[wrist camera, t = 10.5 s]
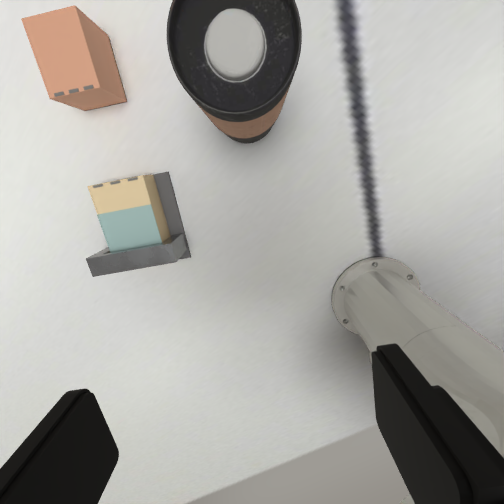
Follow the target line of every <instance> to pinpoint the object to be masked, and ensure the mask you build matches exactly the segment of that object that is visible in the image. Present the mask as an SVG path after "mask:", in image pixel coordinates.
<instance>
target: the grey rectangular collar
mask: <svg viewBox="0 0 504 504" xmlns="http://www.w3.org/2000/svg"><path fill="white" fill-rule="evenodd" d="M186 250H187V245H186V241H185V237H184V234H183V233H179V234H173V235H171V236H170V237H169V238H167V239H166V240H165V241H163V242H162V243H161V244H154V245H149V246H143V247H138V248H132V249H127V250H121V251H116V252H112V253H110V250H109V247H108V248H106V249H104V250H102V251H100V252H98V253H96V254H94V255H92V256H90V257H88V258H86V260H87V263H88V266H89V268H90V271H91V273H92V276H93V277H94V276H100V275H106V274H111V273H117V272H123V271H128V270H134V269H140V268H145V267H151V266H157V265H162V264H168V263H174V262H177V260H178V259H179V258H180V257H181V256H182V255H183V254H184V252H185V251H186Z"/></svg>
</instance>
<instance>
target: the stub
mask: <svg viewBox="0 0 504 504" xmlns="http://www.w3.org/2000/svg"><path fill="white" fill-rule="evenodd" d="M22 22H23V25H24V28H25V31H26V33H27V36H28V39H29V42H30V44H31V47H32V50H33V53H34V56H35V58H36V61H37V64H38V67H39V70H40V72H41V75H42V78H43V81H44V84H45V86H46V89H47V92H48V95H49V98H50V99H52V100H55V101H58V102H61V103H64V104H67V105H70V106H72V107H75V108H78V109H81V110H84V111H86V110H91V109H95V108H100V107H104V106H109V105H113V104H118V103H122V102H127V100H126V97H125V93H124V90H123V86H122V83H121V79H120V76H119V72H118V69H117V65H116V62H115V58H114V55H113V51H112V48H111V44H110V41H109V37H108V35H107V34H106V33H105V32H104V31H103V30H102V29H100V28H99V27H98V26H97V25H96V24H95V23H94V22H93V21H92V20H90V19H89V18H88V17H87V16H86V15H85V14H84V13H83V12H82V11H81V10H79V9H78V8H77V7H76V6H71V7H67V8H63V9H59V10H54V11H50V12H46V13H42V14H38V15H34V16H30V17H26V18H22Z"/></svg>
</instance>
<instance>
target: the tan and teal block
mask: <svg viewBox="0 0 504 504" xmlns="http://www.w3.org/2000/svg"><path fill="white" fill-rule="evenodd" d="M88 189H89V192H90V195H91V197H92V200H93V203H94V206H95V209H96V212H97V214H98V215H97V216H98V219H99V222H100V224H101V227H102V230H103V233H104V236H105V239H106V241H107V244H108V247H109V250H110V253H112V252H116V251H121V250H127V249H132V248H138V247H143V246H149V245H154V244H161V243H162V242H163V241H165V240H166V239H167V238H169V237H170V233H169V229H168V225H167V222H166V218H165V215H164V211H163V208H162V204H161V201H160V197H159V193H158V190H157V186H156V183H155V179H154V176H153V175H142V176H137V177H132V178H127V179H122V180H117V181H112V182H107V183H102V184H97V185H92V186H88Z"/></svg>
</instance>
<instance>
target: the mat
mask: <svg viewBox="0 0 504 504" xmlns="http://www.w3.org/2000/svg"><path fill="white" fill-rule="evenodd" d="M153 176H154V179H155V183H156V186H157V190H158V193H159V197H160V201H161V204H162V208H163V211H164V215H165V218H166V222H167V225H168V229H169V233H170V236H171V235H173V234H179V233H183V234H184V237H185V241H186V245H187V250H186V251H185V252H184V254H183V255H182V256H181V257H180V258H179V259H184V258H189V257H191V255H190V251H189V247H188V244H187V240H186V236H185V232H184V228H183V225H182V221H181V217H180V213H179V210H178V206H177V202H176V198H175V194H174V191H173V187H172V183H171V179H170V175H169V172H165V173H160V174H155V175H153Z"/></svg>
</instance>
